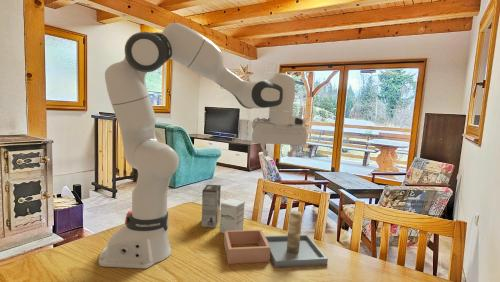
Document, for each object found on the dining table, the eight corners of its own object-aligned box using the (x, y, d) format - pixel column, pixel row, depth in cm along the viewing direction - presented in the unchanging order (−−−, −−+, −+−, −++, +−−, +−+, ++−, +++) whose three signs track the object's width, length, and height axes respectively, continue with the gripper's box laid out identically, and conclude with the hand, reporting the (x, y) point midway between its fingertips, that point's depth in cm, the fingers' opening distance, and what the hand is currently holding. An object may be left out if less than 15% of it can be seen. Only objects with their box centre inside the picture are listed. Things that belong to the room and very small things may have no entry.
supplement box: (218, 232, 117) (220, 202, 116) (228, 226, 124) (229, 197, 122) (234, 237, 114) (235, 206, 112) (243, 230, 120) (245, 201, 119)
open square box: (228, 263, 95) (228, 249, 94) (224, 243, 108) (224, 230, 108) (269, 261, 97) (270, 247, 97) (260, 241, 111) (261, 229, 110)
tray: (275, 267, 94) (275, 261, 93) (262, 241, 111) (263, 236, 111) (327, 264, 97) (327, 258, 97) (307, 239, 115) (307, 234, 114)
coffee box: (205, 218, 131) (206, 184, 129) (219, 219, 131) (221, 184, 128) (201, 226, 122) (202, 189, 120) (216, 228, 121) (217, 191, 119)
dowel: (288, 253, 101) (291, 215, 100) (285, 247, 106) (287, 210, 104) (300, 253, 102) (303, 215, 101) (296, 247, 107) (299, 210, 105)
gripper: (254, 117, 101) (251, 156, 102) (309, 121, 104) (306, 158, 106) (251, 116, 107) (248, 153, 108) (303, 120, 110) (300, 155, 112)
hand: (277, 156), depth 107 cm, fingers open, 8 cm apart
